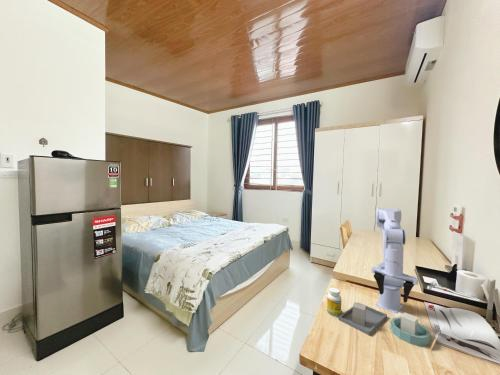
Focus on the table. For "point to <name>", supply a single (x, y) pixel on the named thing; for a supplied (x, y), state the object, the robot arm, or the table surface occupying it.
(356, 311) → the light gray rectangular block
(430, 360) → the table surface
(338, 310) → the supplement bottle
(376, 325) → the tray
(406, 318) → the beige rectangular block
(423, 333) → the bowl
